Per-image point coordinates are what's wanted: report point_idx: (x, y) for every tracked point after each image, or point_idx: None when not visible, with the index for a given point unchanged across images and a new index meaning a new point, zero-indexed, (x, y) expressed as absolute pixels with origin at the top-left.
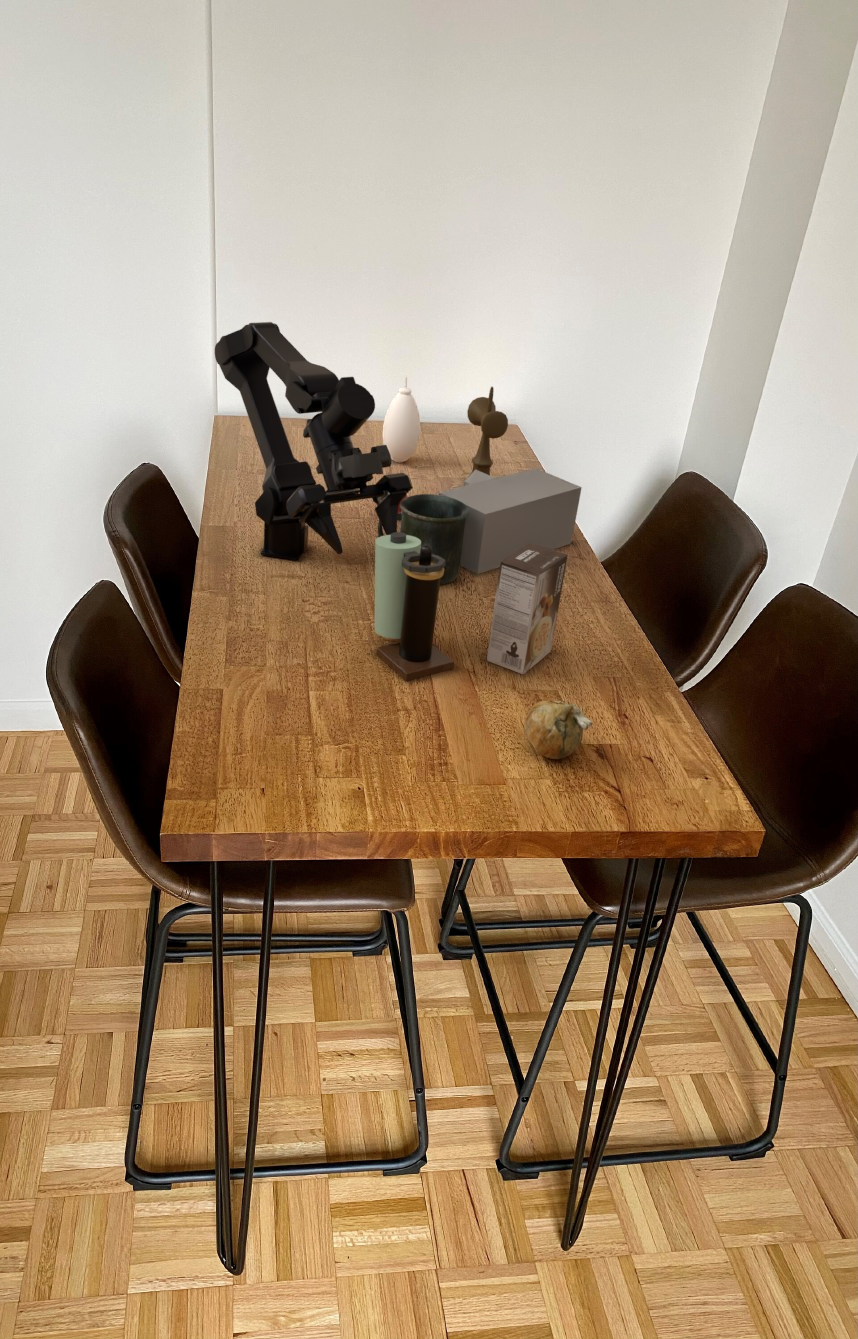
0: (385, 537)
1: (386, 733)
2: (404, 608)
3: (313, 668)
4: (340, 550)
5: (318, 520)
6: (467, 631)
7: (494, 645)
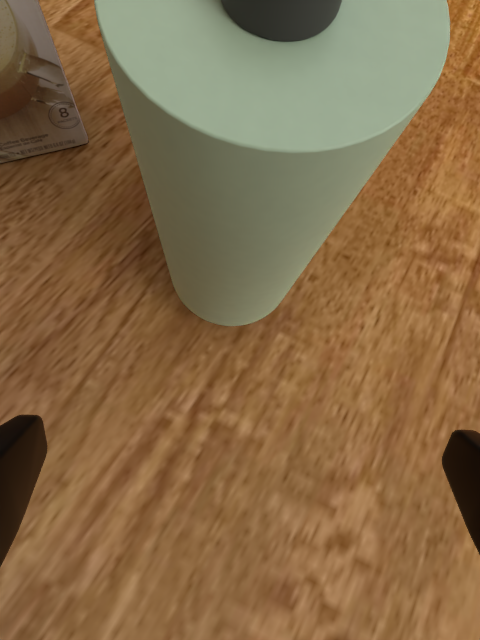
0: (319, 104)
1: None
2: None
3: (454, 282)
4: (477, 434)
5: None
6: (16, 256)
7: (71, 93)
